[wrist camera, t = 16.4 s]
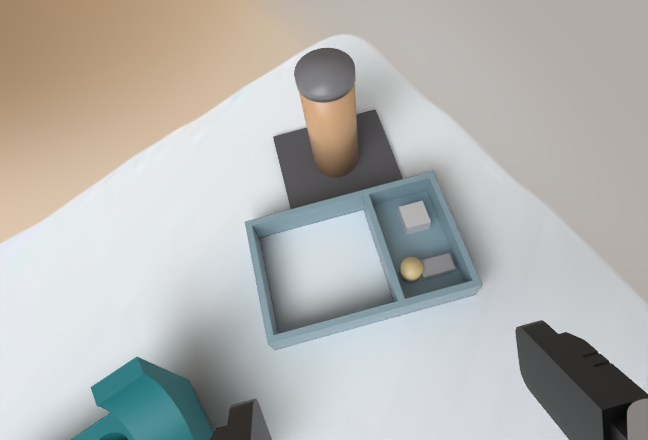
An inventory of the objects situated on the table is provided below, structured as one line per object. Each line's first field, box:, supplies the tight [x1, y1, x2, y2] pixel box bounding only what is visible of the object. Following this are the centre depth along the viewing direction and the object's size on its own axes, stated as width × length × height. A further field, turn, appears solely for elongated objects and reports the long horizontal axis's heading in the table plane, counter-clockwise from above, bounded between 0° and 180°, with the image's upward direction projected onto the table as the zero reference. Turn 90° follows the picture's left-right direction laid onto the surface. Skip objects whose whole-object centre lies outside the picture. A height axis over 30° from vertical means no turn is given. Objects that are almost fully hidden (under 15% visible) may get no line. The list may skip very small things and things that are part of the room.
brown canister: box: [294, 48, 359, 177], centre depth 42 cm, size 5×5×13 cm
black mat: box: [273, 110, 402, 209], centre depth 48 cm, size 12×10×1 cm
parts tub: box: [245, 171, 482, 350], centre depth 42 cm, size 19×12×3 cm, turn 104°
